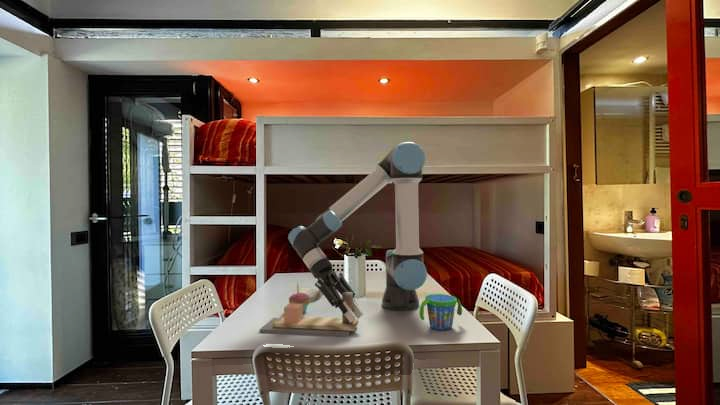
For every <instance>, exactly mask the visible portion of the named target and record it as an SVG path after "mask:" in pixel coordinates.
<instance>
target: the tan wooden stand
mask: <svg viewBox="0 0 720 405" xmlns="http://www.w3.org/2000/svg"><path fill="white" fill-rule="evenodd" d="M341 299H342V301H343V302H344V301H345V302H346V304H347V305H348V306H349V308H350V309H351V310H352V312H353V299H354V297H353V293H352V292H343V293H342V295H341ZM343 302H342V303H343ZM341 313H342V312H341ZM277 318H278V319H277V320H276V321H275V322H274V323H273V327H285V328H306V329H327V330H348V331H351V332H355V330H356V329H357V326H358V325H359V319H357V318H355V319H354V320H353V321H352V322H351V323H350V322H349V320H348V319H347V317H346V316H345V314H343V313H342V317H341V318H340V317H339V318H338V317H318V316H317V317H316V316H315V317H314V316H303V319H302V320H301V321H300V322H299V323H288V322H284V315H281V316H280V317H277Z"/></svg>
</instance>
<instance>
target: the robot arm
mask: <svg viewBox="0 0 720 405" xmlns="http://www.w3.org/2000/svg"><path fill="white" fill-rule="evenodd" d="M425 162H426V155H425V151H424V150H423V148H422V147H421V146H420V145H419V144H417V143H415V142H412V141H406V142H401V143H398V145H396V146H395V147H394V148H392V149H391V150H390V151H389V152H388V153H387V154H386V156H385V157H383V159H382V160H381V161H380V162H378V163H377V164H376V165H375V169H374V170H373V171H371V172H370V173H369V174H368V175H367V176H365V177H364V178H363V179H362V180H360V181H359V183H358V184H356V185H355V186H354V187H352V188H351V189H350V190H349V191H347V192H346V193H345V194H344V195H343V196H342V197H340V198H339V199H338V200H337V201H336V202H335V203H333V204H332V205H331V206H329V207H328V208H327V209H325V211H324V212H322V213H321V214H320V215H319V214H318V216H317V217H316V219H315V220H314V221H313V222H312V223H311V224H310V225H309V226H307V227H305V226H303V225H299V226H297V227H296V228H295V227H294V228H293V229H292V230H291V231H290V232H289V233H288V237H287V239H288V241H289V243H290V244H291V246H292V248H293V249H294V251H296V253H297V255H298V256H299V258H301V260H302V261H303V263H304V264H305V265H306V267H307V268H308V270H309V271H310V273H311V275H312V276H313V278H314V279H317V281H316V282H315V283H314V286H315V288H319V289H320V291H321V292H322V293H323V296H324V297H325V299H326V300H327V301H328V303H329V304H330V305H331V306H332V307H334V308H336V309H339V310H340V311H341V313H343V314H345V316H346V317H347V319H348V320H349V322H350V323H351V322H352V321H353V320H354V319H358V320H359V319H361V317H362V316H363V315H364V312H363V311H362V309H361V308H360V306H359V304H358V303H357V302H356V300H355V299H354V297H355V295H356V293H355V292H354V290H353V289H352V288H351V286H350V284H349V283H348V282H347V280H346V278H345V277H344V274H343V273H342V272H340V273H337V272H336V271H334V270H333V264H332V262H330V260H329V259H328V258H327V255H326V254H325V253H324V251H323V250H322V249H321V247H320V246H319V245H320V244H321V243H322V242H323V241H325V240H326V239H327V238H329V237H330V236H331V235H332V234H334V233H335V232H337V231H338V230H339V228H342V225H343V223H342V222H343V221H344V220H345V219H347V218H348V217H350V215H352V214H353V213H354V212H355V211H356V210H357V209H359V208H360V207H361V206H362V205H364V204H365V203H366V202H367V201H368V200H370V199H371V198H372V197H373V196H374V195H376V194H377V193H378V192H380V190H382V189H383V188H384V187H385V186H387V184H394V193H395V194H394V196H395V201H394V202H395V204H394V205H395V248H394V249H388V250H387V251H386V253H385V283H386V286H385V289H384V293H383V296H382V300H381V302H382V303H381V305H382V307H383V308H385V309H388V310H393V311H410V310H411V311H412V310H415V309H418V308H420V300H419V297H418V293H417V290H418V289H419V288H421V287H422V286H423V285H424V283H425V282H426V280H427V278H428V271H427V268H426V265H425V264H424V251H423V250H422V249H421V248H420V227H419V226H420V225H419V222H420V217H419V215H420V214H419V183H420V182H421V181H422V180H423V168H424V165H425ZM343 292H352V293H353V312H352V310H351V309H350V308H349V306H348V305H347V304H346V302H345V301H344V302H343V301H342V293H343ZM342 302H343V303H342Z"/></svg>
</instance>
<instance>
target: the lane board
mask: <svg viewBox="0 0 720 405" xmlns="http://www.w3.org/2000/svg"><path fill="white" fill-rule="evenodd" d="M278 318H279V317H273V318H271V319H270V320H269V321H267V322H266V323H265V324H264V325H263V326H261V327H260V328H259V333H265V334H266V333H267V334H286V335H303V336H304V335H305V336H307V335H308V336H326V337H327V336H329V337H343V338H344V337H345V338H346V337H347V338H348V337H349V336H350V334H351V332H352V331H348V330H327V329H306V328H285V327H273V323H274V322H275V321H276V320H277V319H278Z"/></svg>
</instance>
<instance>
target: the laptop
mask: <svg viewBox="0 0 720 405" xmlns="http://www.w3.org/2000/svg"><path fill="white" fill-rule="evenodd" d="M299 293H305V294H307V295H308V296H309V297H310V300H321V299H322V297H323V296H324V295H323V293H322V292H321V291H320V289H319V288H317V287H302V288H301V289H300V290H299Z"/></svg>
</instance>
